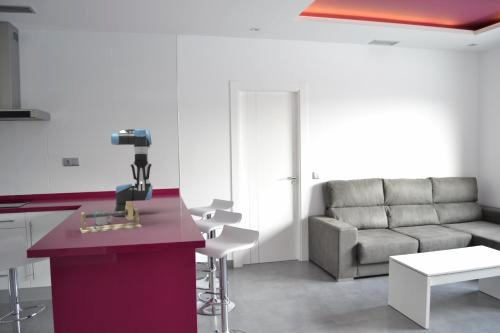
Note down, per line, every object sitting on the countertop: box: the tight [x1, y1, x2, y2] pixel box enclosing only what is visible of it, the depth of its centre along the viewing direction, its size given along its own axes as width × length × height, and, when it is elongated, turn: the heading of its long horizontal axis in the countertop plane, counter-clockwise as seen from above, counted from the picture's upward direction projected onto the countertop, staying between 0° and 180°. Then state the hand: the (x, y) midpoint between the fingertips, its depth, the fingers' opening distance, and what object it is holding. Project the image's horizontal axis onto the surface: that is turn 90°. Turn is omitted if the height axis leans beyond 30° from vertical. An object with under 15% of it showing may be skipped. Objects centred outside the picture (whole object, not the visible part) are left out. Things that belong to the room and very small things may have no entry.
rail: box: [79, 208, 142, 234], centre depth 235 cm, size 34×12×11 cm, turn 119°
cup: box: [95, 209, 113, 226], centre depth 252 cm, size 7×10×9 cm
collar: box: [125, 201, 134, 221], centre depth 241 cm, size 3×8×11 cm, turn 29°
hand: (141, 190), depth 244 cm, fingers closed
